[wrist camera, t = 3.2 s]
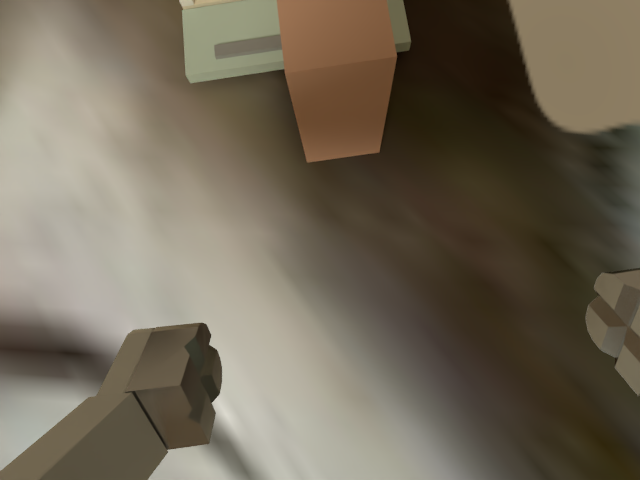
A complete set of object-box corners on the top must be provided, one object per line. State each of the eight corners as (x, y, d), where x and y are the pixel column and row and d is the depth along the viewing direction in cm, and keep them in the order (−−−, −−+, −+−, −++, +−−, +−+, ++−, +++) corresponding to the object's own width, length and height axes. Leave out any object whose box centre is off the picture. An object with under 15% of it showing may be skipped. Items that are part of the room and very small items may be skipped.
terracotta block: (306, 162, 25) (284, 73, 16) (299, 97, 26) (274, -20, 17) (379, 152, 25) (397, 56, 16) (368, 87, 26) (379, -37, 17)
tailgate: (186, 19, 27) (190, 83, 26) (180, 6, 26) (183, 72, 25) (396, -14, 26) (409, 50, 25) (398, -28, 25) (412, 38, 24)
